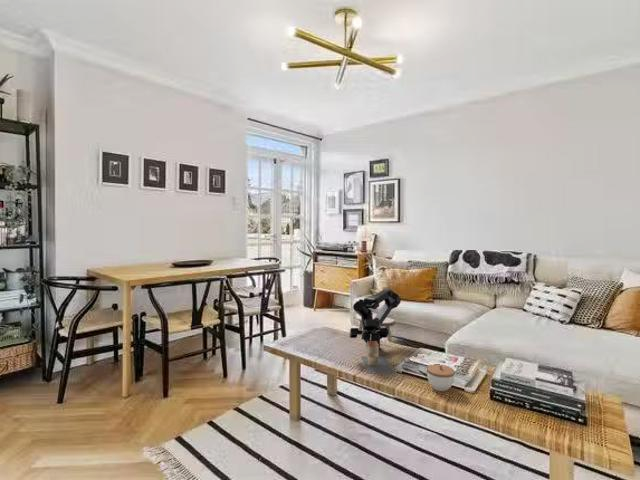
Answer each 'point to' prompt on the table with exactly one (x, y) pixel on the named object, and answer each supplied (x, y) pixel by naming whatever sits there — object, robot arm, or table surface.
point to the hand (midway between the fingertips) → (370, 348)
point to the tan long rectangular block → (372, 352)
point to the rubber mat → (381, 367)
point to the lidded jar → (440, 376)
